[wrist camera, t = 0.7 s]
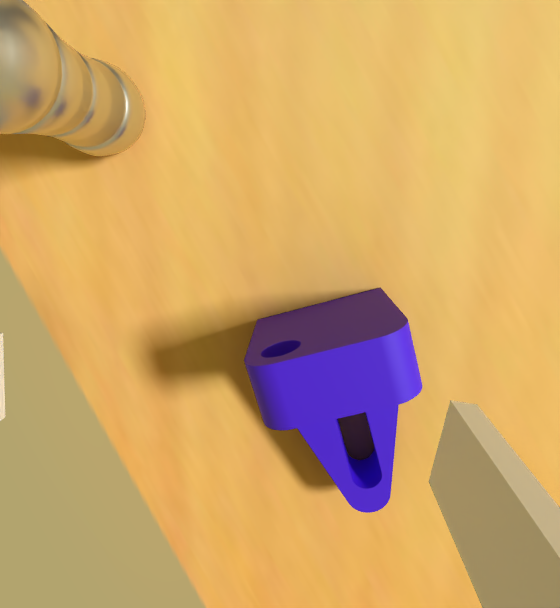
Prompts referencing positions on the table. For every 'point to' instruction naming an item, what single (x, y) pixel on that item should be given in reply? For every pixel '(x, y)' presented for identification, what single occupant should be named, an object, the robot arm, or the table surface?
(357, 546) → the table surface
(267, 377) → the bracket
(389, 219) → the table surface
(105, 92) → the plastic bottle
